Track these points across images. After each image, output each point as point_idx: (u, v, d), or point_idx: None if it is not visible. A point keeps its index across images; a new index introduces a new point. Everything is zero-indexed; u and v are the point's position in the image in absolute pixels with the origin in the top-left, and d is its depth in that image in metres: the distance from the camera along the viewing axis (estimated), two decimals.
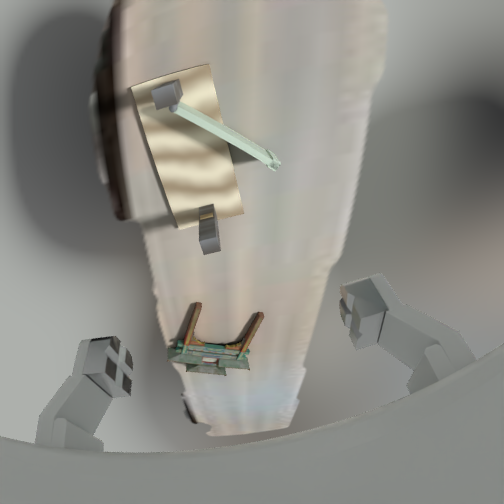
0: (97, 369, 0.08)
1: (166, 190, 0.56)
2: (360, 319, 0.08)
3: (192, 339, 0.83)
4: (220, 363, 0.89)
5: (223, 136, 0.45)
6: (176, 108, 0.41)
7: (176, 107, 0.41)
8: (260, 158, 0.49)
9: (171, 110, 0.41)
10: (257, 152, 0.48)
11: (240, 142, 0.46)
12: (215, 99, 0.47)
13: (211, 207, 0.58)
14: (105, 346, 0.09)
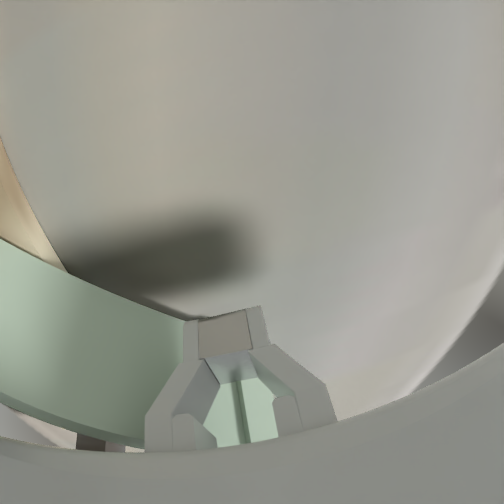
0: (218, 351, 0.08)
1: None
2: (220, 355, 0.08)
3: None
4: None
5: None
6: None
7: None
8: None
9: None
10: None
11: (63, 420, 0.06)
12: None
13: None
14: (222, 325, 0.09)
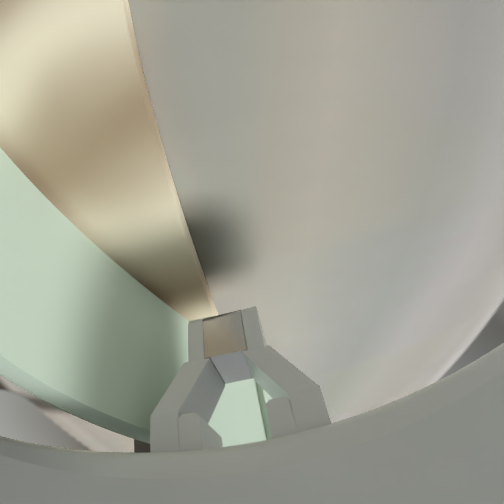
0: (224, 350, 0.08)
1: None
2: (215, 356, 0.08)
3: None
4: None
5: (79, 413, 0.06)
6: None
7: None
8: None
9: None
10: None
11: None
12: (119, 47, 0.06)
13: None
14: (228, 324, 0.09)
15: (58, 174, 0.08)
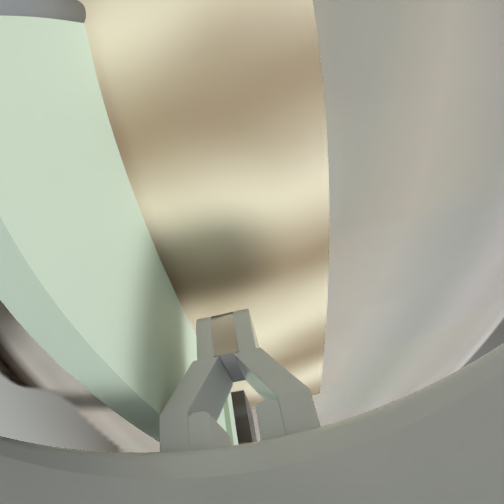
0: (233, 348, 0.08)
1: None
2: (207, 358, 0.08)
3: None
4: None
5: (130, 414, 0.07)
6: None
7: None
8: None
9: None
10: None
11: None
12: (302, 4, 0.06)
13: (240, 409, 0.18)
14: (236, 322, 0.09)
15: (208, 115, 0.08)
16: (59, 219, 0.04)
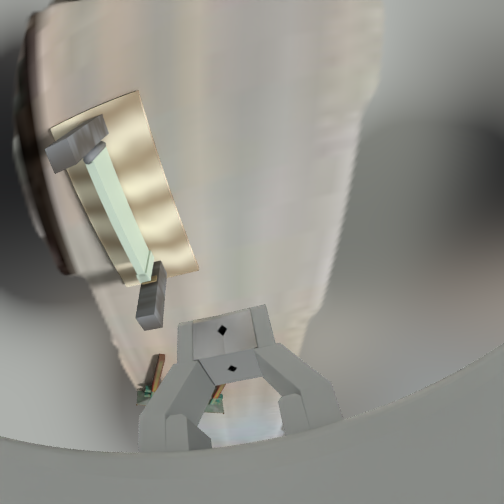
0: (212, 352, 0.08)
1: (105, 246, 0.45)
2: (225, 354, 0.08)
3: None
4: None
5: (113, 223, 0.36)
6: (90, 162, 0.31)
7: (91, 161, 0.31)
8: (134, 264, 0.41)
9: (84, 160, 0.30)
10: (135, 258, 0.40)
11: (125, 239, 0.38)
12: (148, 137, 0.36)
13: (157, 266, 0.47)
14: (217, 326, 0.09)
15: (133, 164, 0.38)
16: (107, 184, 0.34)
